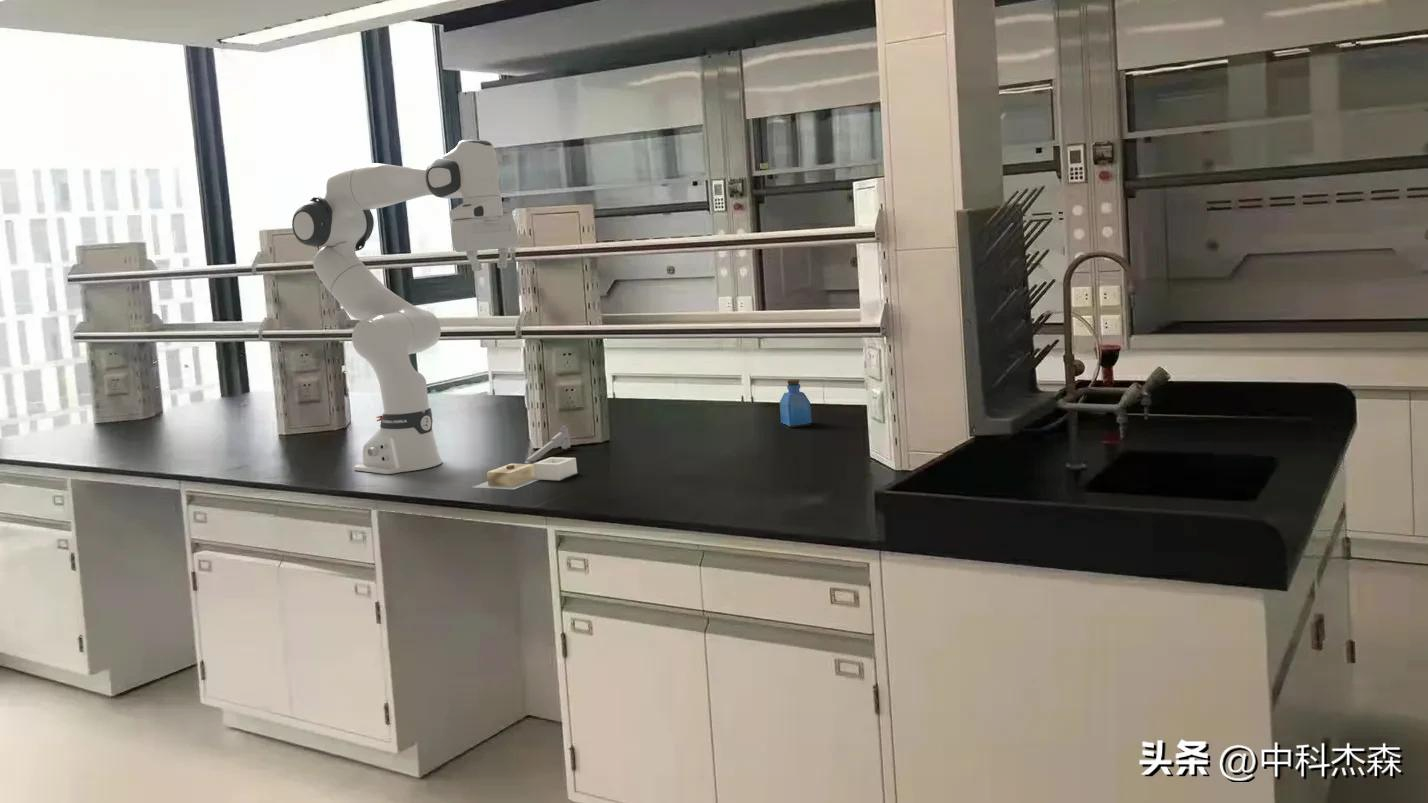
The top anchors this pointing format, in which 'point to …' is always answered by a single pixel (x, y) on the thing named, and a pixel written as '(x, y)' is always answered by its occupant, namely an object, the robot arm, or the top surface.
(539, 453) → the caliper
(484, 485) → the mat
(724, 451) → the top surface
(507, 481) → the lid
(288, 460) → the top surface
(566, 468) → the dish
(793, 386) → the perfume bottle
